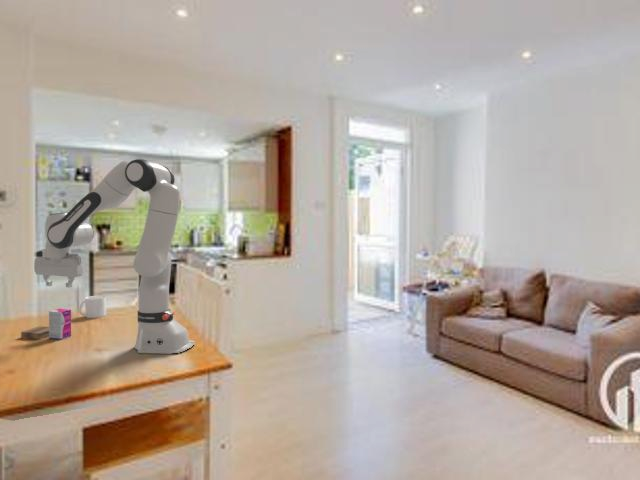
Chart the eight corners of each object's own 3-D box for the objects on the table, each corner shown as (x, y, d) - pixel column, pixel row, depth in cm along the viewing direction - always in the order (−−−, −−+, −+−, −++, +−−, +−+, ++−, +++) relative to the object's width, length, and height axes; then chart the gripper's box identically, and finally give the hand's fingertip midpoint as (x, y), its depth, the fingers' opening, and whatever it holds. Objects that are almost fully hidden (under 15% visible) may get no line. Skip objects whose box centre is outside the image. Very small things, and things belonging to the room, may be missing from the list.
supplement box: (61, 340, 174) (60, 312, 173) (48, 339, 175) (47, 311, 174) (72, 336, 180) (71, 309, 179) (59, 335, 181) (59, 308, 180)
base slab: (57, 333, 183) (57, 327, 183) (39, 339, 174) (39, 333, 174) (39, 331, 185) (39, 326, 185) (21, 337, 176) (21, 331, 176)
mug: (104, 313, 219) (103, 295, 219) (107, 316, 212) (107, 298, 211) (77, 316, 212) (76, 297, 211) (80, 320, 205) (79, 300, 204)
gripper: (86, 253, 176) (86, 286, 177) (43, 251, 180) (44, 283, 181) (74, 254, 170) (75, 289, 171) (30, 252, 174) (31, 286, 175)
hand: (59, 286), depth 176 cm, fingers open, 8 cm apart
